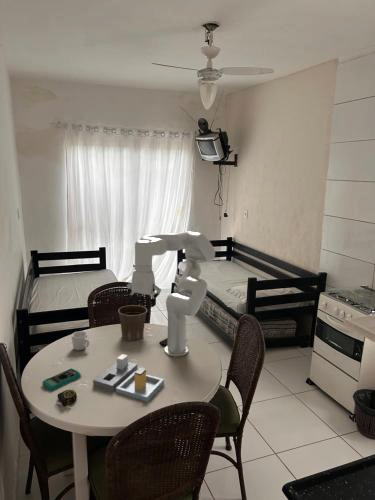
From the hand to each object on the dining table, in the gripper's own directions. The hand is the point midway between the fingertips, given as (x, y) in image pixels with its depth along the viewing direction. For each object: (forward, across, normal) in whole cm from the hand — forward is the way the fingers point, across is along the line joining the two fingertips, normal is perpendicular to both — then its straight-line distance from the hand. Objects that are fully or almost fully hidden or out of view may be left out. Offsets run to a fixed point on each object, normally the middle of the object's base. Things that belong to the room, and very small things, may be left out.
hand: (143, 304), depth 167 cm
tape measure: (+34, -16, -34) cm, 51 cm away
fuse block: (+33, -8, -11) cm, 36 cm away
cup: (+34, -41, +5) cm, 53 cm away
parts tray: (+33, +6, -13) cm, 36 cm away
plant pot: (+34, -25, +30) cm, 51 cm away
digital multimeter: (+34, -28, -23) cm, 50 cm away
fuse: (+33, -8, -6) cm, 34 cm away
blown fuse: (+33, +6, -13) cm, 36 cm away
